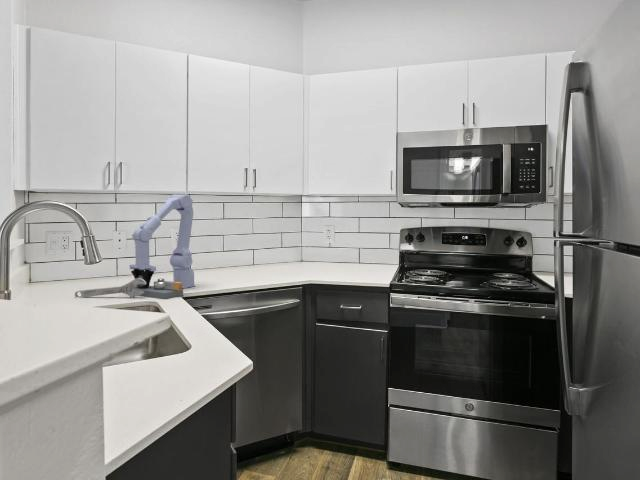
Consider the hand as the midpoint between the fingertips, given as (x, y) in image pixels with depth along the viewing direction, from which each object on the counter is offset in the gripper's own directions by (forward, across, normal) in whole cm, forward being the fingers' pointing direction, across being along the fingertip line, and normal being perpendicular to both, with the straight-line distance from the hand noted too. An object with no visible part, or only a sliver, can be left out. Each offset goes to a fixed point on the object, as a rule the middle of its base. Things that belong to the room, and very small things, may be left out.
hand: (142, 286), depth 206 cm
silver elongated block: (0, +13, +2) cm, 13 cm away
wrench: (+3, -4, -14) cm, 15 cm away
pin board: (+3, +7, 0) cm, 8 cm away
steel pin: (+2, 0, 0) cm, 2 cm away
